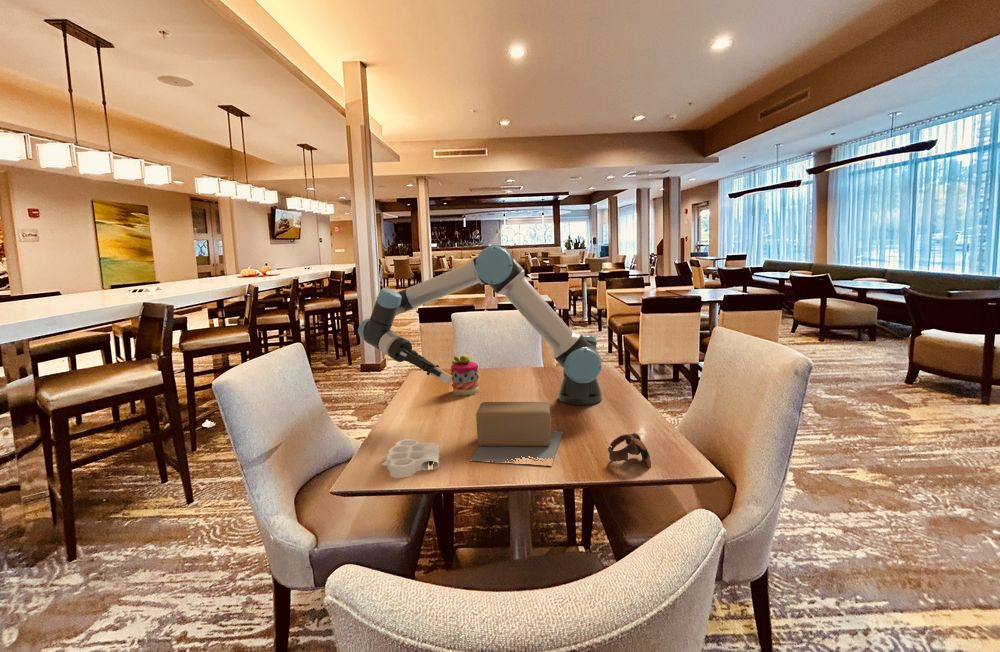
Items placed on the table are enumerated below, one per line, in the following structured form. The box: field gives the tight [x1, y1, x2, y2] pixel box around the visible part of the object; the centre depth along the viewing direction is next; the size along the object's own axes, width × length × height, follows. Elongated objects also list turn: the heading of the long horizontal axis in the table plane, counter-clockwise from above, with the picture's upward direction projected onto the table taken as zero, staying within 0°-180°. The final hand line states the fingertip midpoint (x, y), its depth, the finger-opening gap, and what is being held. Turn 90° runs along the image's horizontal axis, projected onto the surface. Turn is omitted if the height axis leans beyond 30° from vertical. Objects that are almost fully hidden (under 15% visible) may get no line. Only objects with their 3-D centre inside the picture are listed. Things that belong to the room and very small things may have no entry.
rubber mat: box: [470, 430, 564, 462], centre depth 139 cm, size 21×24×1 cm
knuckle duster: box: [380, 439, 441, 479], centre depth 131 cm, size 3×18×15 cm
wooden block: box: [475, 401, 552, 447], centre depth 142 cm, size 10×10×20 cm
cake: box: [450, 354, 480, 397], centre depth 194 cm, size 10×11×15 cm
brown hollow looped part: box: [607, 432, 652, 469], centre depth 126 cm, size 12×10×8 cm
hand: (449, 380), depth 155 cm, fingers closed
